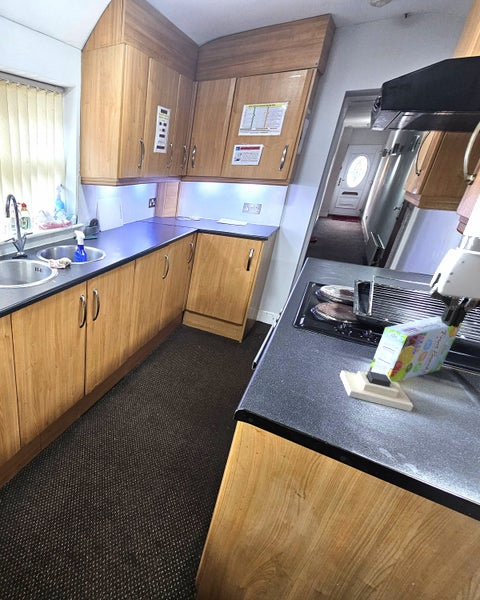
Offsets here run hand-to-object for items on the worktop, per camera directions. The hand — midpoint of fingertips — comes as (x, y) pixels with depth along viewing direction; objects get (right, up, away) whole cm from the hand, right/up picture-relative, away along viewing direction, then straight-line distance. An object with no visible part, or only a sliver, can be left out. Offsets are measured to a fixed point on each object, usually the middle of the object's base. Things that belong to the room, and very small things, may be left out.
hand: (449, 324), depth 75 cm
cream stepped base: (-10, -18, +9) cm, 22 cm away
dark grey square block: (-10, -15, +8) cm, 20 cm away
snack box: (+6, -15, +17) cm, 23 cm away
